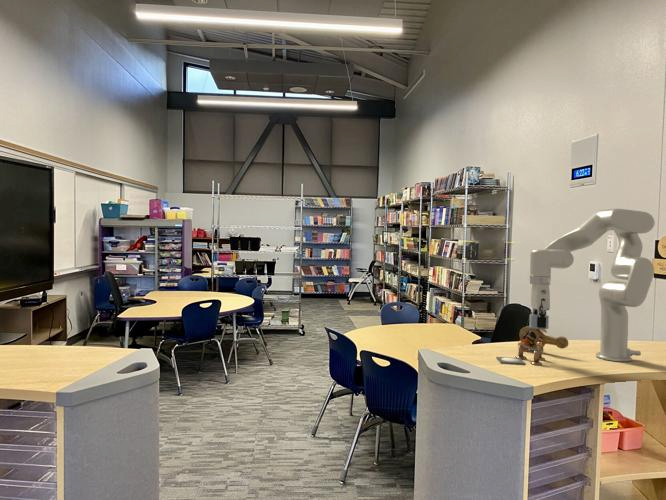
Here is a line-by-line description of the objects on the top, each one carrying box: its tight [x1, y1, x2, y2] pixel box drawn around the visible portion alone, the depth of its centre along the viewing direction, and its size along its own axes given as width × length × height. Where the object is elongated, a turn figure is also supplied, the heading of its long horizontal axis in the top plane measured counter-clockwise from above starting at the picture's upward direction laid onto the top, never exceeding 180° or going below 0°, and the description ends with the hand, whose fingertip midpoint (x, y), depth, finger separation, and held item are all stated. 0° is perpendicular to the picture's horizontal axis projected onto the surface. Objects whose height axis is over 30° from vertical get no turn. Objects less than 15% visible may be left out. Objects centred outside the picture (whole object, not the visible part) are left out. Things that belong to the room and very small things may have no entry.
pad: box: [495, 356, 527, 366], centre depth 182 cm, size 9×9×1 cm
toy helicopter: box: [517, 325, 569, 352], centre depth 200 cm, size 8×21×14 cm, turn 38°
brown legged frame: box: [514, 340, 545, 366], centre depth 184 cm, size 11×13×7 cm
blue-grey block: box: [528, 313, 550, 330], centre depth 185 cm, size 6×6×5 cm
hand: (538, 325), depth 185 cm, fingers closed on blue-grey block, 6 cm apart
